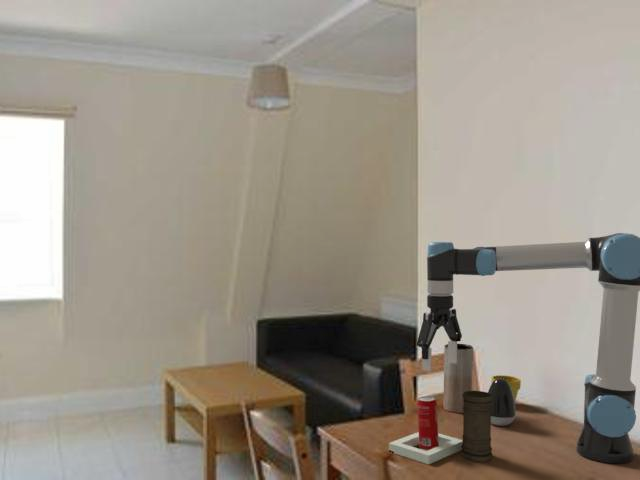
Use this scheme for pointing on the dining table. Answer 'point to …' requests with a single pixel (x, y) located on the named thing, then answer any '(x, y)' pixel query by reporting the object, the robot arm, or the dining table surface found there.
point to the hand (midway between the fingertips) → (439, 366)
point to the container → (477, 426)
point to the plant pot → (510, 383)
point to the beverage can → (427, 423)
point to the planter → (457, 378)
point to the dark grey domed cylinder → (502, 403)
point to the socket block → (408, 450)
